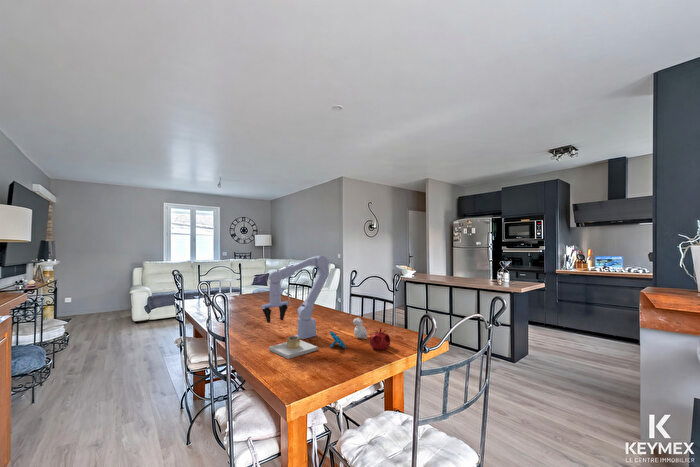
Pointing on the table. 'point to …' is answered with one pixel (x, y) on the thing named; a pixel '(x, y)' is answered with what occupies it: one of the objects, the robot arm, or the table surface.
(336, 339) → the blue branched piece
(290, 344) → the ring
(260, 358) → the table surface
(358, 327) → the white animal figurine
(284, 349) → the grey peg base
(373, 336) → the pomegranate
